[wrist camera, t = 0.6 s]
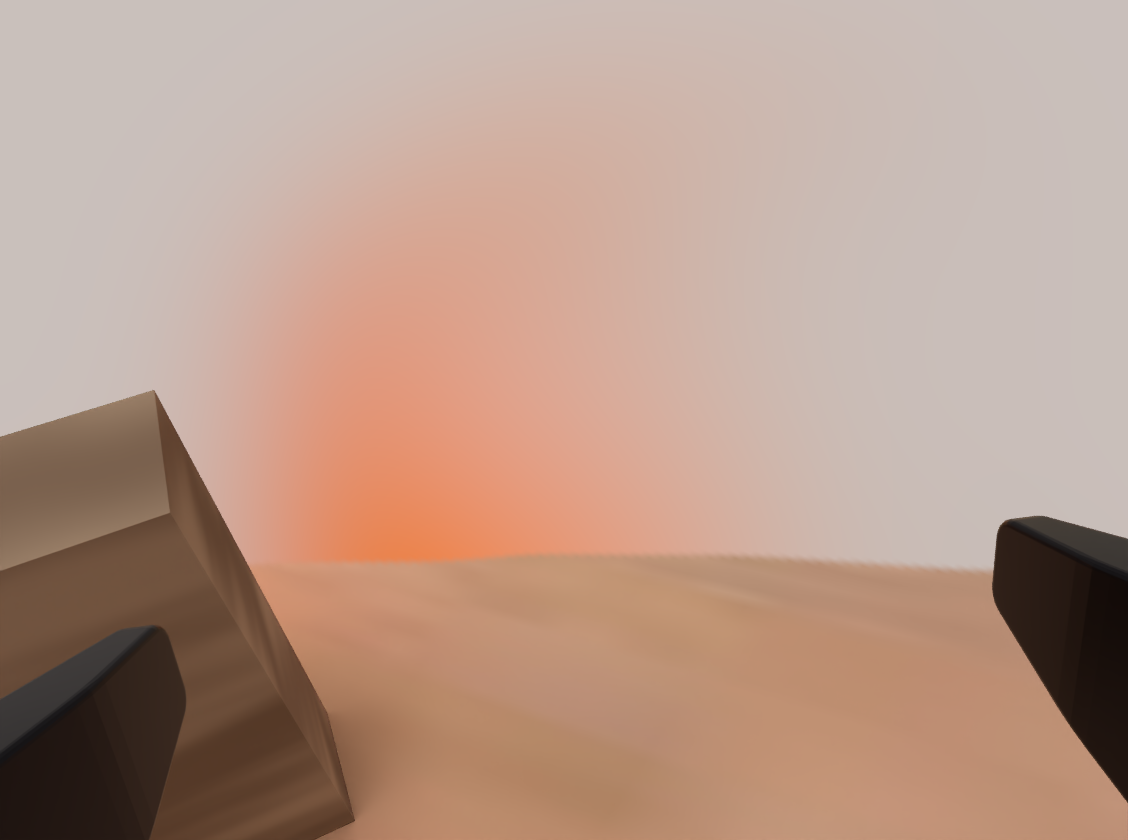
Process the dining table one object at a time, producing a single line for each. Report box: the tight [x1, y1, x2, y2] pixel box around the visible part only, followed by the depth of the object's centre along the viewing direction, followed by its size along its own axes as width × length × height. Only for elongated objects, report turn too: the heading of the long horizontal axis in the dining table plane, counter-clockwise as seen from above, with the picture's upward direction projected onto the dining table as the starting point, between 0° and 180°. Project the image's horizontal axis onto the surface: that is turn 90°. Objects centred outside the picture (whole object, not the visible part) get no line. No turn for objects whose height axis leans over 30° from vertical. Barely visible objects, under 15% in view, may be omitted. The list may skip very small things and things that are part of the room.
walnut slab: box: [0, 390, 355, 840], centre depth 19 cm, size 4×6×13 cm, turn 114°
